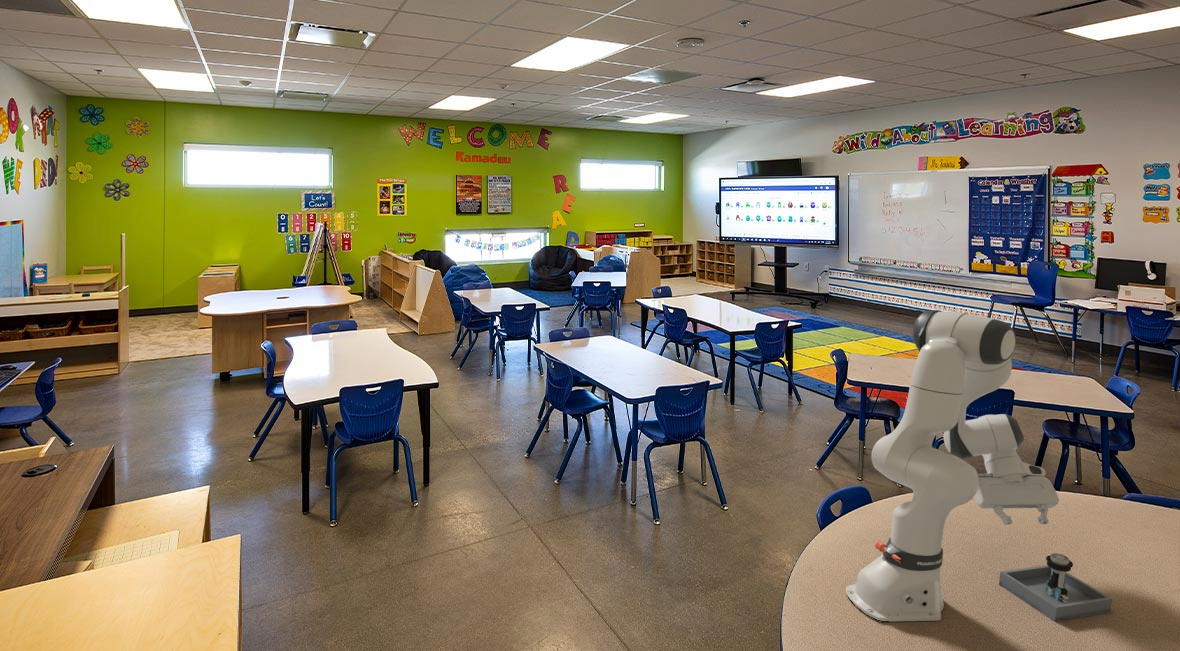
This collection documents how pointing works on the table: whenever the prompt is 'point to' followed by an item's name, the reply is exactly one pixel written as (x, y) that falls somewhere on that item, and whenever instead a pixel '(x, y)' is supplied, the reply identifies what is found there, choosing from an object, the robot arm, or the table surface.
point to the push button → (1058, 575)
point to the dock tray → (1033, 591)
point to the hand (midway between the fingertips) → (1026, 523)
